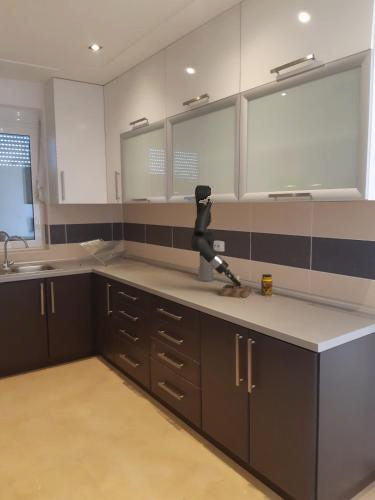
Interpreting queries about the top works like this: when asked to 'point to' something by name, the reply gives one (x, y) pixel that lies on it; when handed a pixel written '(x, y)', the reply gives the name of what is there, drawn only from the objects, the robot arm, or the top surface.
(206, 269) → the robot arm
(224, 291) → the clear brown food package
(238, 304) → the top surface
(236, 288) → the peg
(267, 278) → the condiment
